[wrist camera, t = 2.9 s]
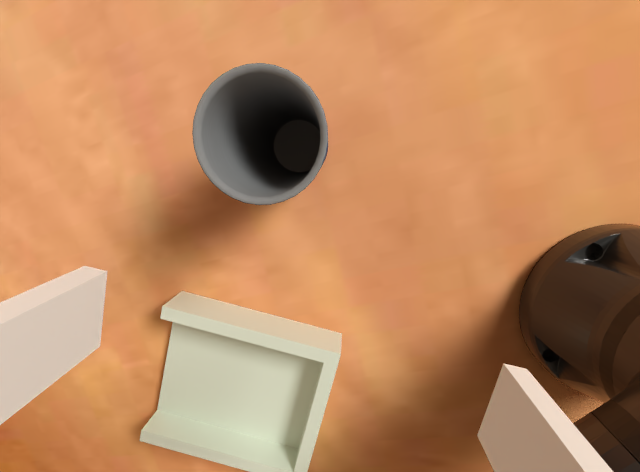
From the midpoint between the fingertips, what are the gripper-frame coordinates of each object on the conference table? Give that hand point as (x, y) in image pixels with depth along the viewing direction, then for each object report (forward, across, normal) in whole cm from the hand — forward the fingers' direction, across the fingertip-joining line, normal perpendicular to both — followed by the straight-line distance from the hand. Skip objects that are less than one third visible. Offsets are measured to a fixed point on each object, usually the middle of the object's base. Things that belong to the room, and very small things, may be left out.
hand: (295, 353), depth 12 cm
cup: (+23, -4, +6) cm, 24 cm away
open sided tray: (+23, -4, -17) cm, 29 cm away
